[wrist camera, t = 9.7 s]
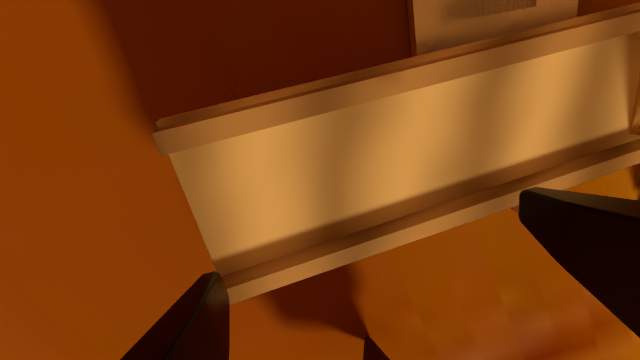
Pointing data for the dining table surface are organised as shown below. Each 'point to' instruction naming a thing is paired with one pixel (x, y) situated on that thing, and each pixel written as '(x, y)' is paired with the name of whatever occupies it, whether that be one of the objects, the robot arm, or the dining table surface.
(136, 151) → the dining table surface
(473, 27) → the stand
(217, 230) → the beam
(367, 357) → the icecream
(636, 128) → the tan block
